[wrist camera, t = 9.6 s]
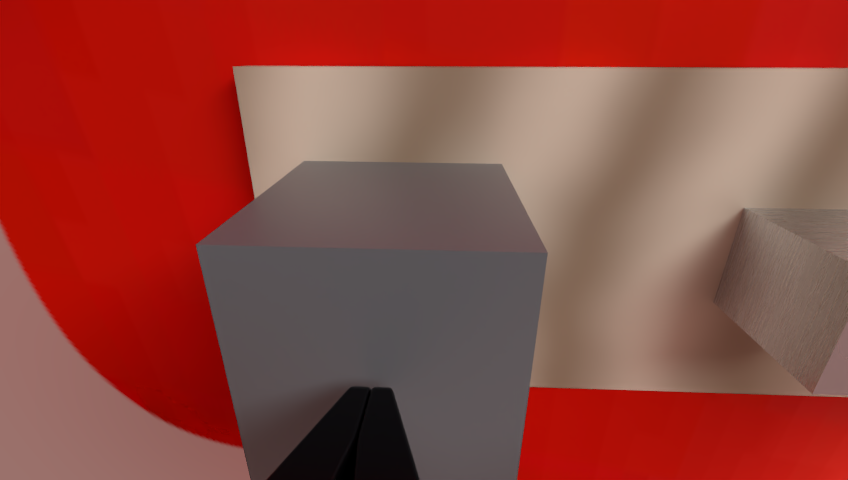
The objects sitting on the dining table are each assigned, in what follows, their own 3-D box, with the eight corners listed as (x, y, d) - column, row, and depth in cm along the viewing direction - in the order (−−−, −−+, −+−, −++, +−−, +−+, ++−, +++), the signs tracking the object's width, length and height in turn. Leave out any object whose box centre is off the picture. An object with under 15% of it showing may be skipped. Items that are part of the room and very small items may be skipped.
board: (1031, 68, 13) (1077, 69, 12) (863, 380, 18) (886, 398, 17) (246, 65, 14) (232, 66, 13) (292, 362, 19) (285, 378, 18)
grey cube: (858, 209, 14) (1036, 277, 10) (816, 304, 15) (955, 398, 11) (743, 207, 14) (870, 273, 10) (713, 302, 15) (812, 394, 11)
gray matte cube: (501, 164, 14) (547, 252, 8) (488, 329, 16) (514, 494, 10) (304, 161, 14) (195, 244, 8) (322, 324, 16) (251, 482, 10)
